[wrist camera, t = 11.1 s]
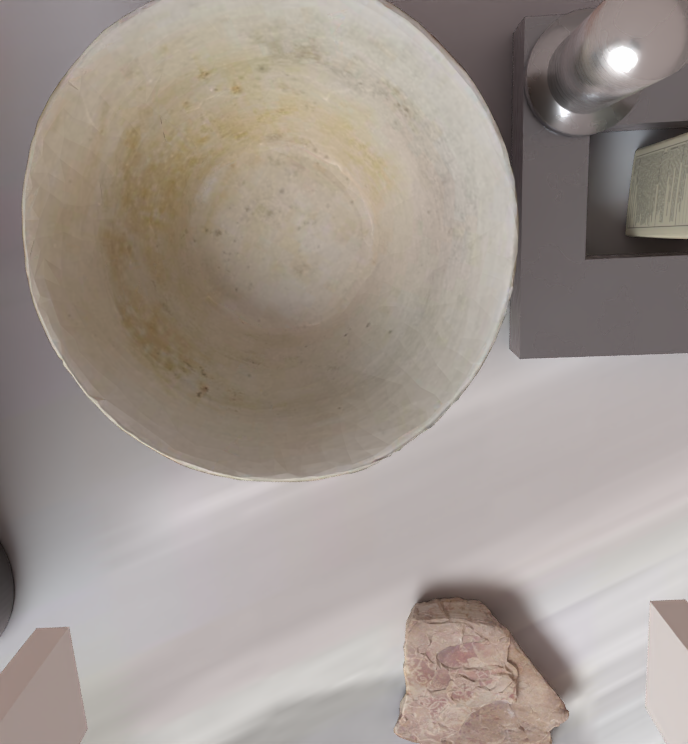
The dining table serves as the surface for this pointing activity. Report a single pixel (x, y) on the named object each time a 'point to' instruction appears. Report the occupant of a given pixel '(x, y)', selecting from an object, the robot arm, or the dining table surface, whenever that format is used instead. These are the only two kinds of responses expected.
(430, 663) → the stone
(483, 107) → the bowl
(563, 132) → the round door knob
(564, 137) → the square recessed tray
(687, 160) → the box
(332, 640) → the dining table surface
